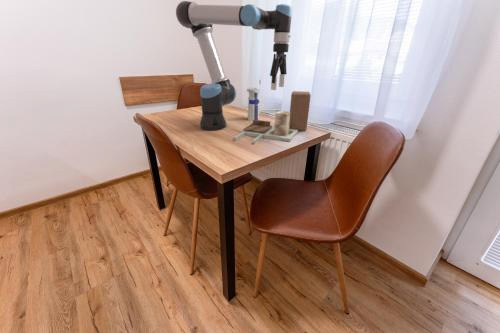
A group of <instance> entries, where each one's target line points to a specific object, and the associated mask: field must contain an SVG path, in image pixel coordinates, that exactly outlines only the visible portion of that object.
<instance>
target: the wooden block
mask: <svg viewBox="0 0 500 333" xmlns="http://www.w3.org/2000/svg"><path fill="white" fill-rule="evenodd" d="M310 103H311V93H310V91H296V90H293V91H292V92H291V95H290V106H289V107H290V109H289V112H290V123H289V129H294V130H298V131H300V130H301V131H302V132H303V131H304V132H305V131H307V129H308V128H307V127H308V119H309V111H310Z"/></svg>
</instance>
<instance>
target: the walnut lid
mask: <svg viewBox="0 0 500 333" xmlns="http://www.w3.org/2000/svg"><path fill="white" fill-rule="evenodd" d="M272 127H273V125H271V121H269V120H260V119H259V120H252V123H251V124H249V125H248V126H246V127H244V128H243V130H245V131H252V132H259V133H265V132H267V131H268V130H269V129H270V128H272Z"/></svg>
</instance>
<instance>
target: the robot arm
mask: <svg viewBox="0 0 500 333" xmlns="http://www.w3.org/2000/svg"><path fill="white" fill-rule="evenodd" d="M292 8H293V7H292V5H290V4H287V3H280V4H276V6H275V9H274V10H264V9H262V8H260V7H257V6H256V4H255V5H254V4H249V3H248V4H246V5H231V4H230V5H227V4H226V5H224V4H222V5H219V4H198V3H197V2H196V1H187V0H182V1H181V2H179V3H178V4H177V6H176V8H175V16H176V19H177V21H178V22H179V24H180V25H181V26H182V27H185V28H187V29H191V32H192V36H193V37H195V39H197V42H198V44H199V47H200V50H201V54H202V56H203V59H204V62H205V66H206V68H207V70H208V73H209V78H210V79H211V83H207V84H203V85H202V86H201V87H200V89H199V91H200V92H199V95H200V105H201V112H202V113H201V114H202V115H201V118H200V123H199V125H200V129H202V130H205V131H219V130H223V129H225V128H226V127H227V122H226V118H225V115H224V113H223V111H224V110H223V107H224V106H226V105H229V104H232V103H233V102H234V101H235V99H236V97H237V89H236V87H235V86H234V85H233V84H232V83H231V82H230V81H231V80H230V78H228V77H227V76H226V75H225V70H224V68H223V65H222V62H221V58H220V55H219V53H218V49H217V46H216V44H215V41H214V38H213V31H214V28H213V25H218V26H221V25H222V26H238V27H239V26H241V27H251V28H252V29H253V30H259V31H260V30H261V31H262V30H274V32H273V35H274V36H273V47H272V50H273V53H274V54H273V57H272V58H273V60H272V63H271V68H270V72H269V76H270V77H271V80H270V82H271V83H270V90H271V91H277V85H278V87H279V88H284V87H285V77H286V75H287V74H288V73H287V54H285V53H288V52H289V47H290V45H289V42H290V38H291V34H290V33H291V23H292V13H293V11H292V10H293V9H292ZM279 71H280V74H279V81H278V72H279ZM277 83H278V84H277Z"/></svg>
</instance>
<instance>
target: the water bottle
mask: <svg viewBox="0 0 500 333" xmlns="http://www.w3.org/2000/svg"><path fill="white" fill-rule="evenodd" d="M261 82H262V81H261V80H259V85H261V84H262V83H261ZM260 90H261V89H260V88H258V87H257V88H256V87H248V88H247V89H246V92H247V93H248V98H247V99H248V104H247V120H248V121H253V120H260V97H259V94H260Z"/></svg>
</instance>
